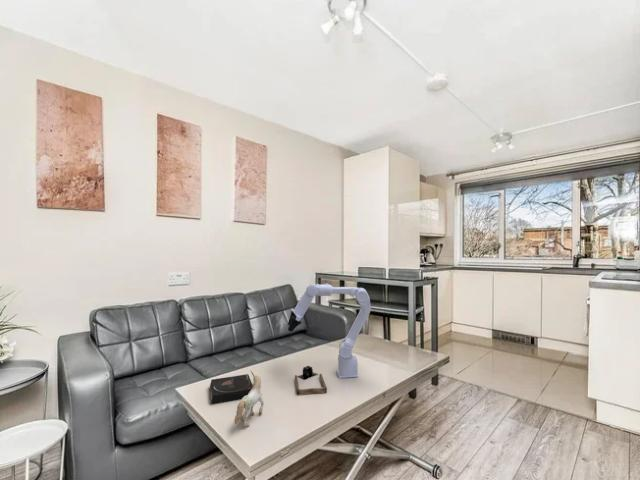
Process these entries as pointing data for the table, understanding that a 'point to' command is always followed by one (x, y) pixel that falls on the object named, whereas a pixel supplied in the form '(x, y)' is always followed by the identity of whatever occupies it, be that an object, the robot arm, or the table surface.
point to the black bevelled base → (307, 373)
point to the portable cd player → (230, 388)
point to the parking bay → (311, 390)
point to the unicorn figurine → (250, 402)
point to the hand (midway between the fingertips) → (289, 327)
